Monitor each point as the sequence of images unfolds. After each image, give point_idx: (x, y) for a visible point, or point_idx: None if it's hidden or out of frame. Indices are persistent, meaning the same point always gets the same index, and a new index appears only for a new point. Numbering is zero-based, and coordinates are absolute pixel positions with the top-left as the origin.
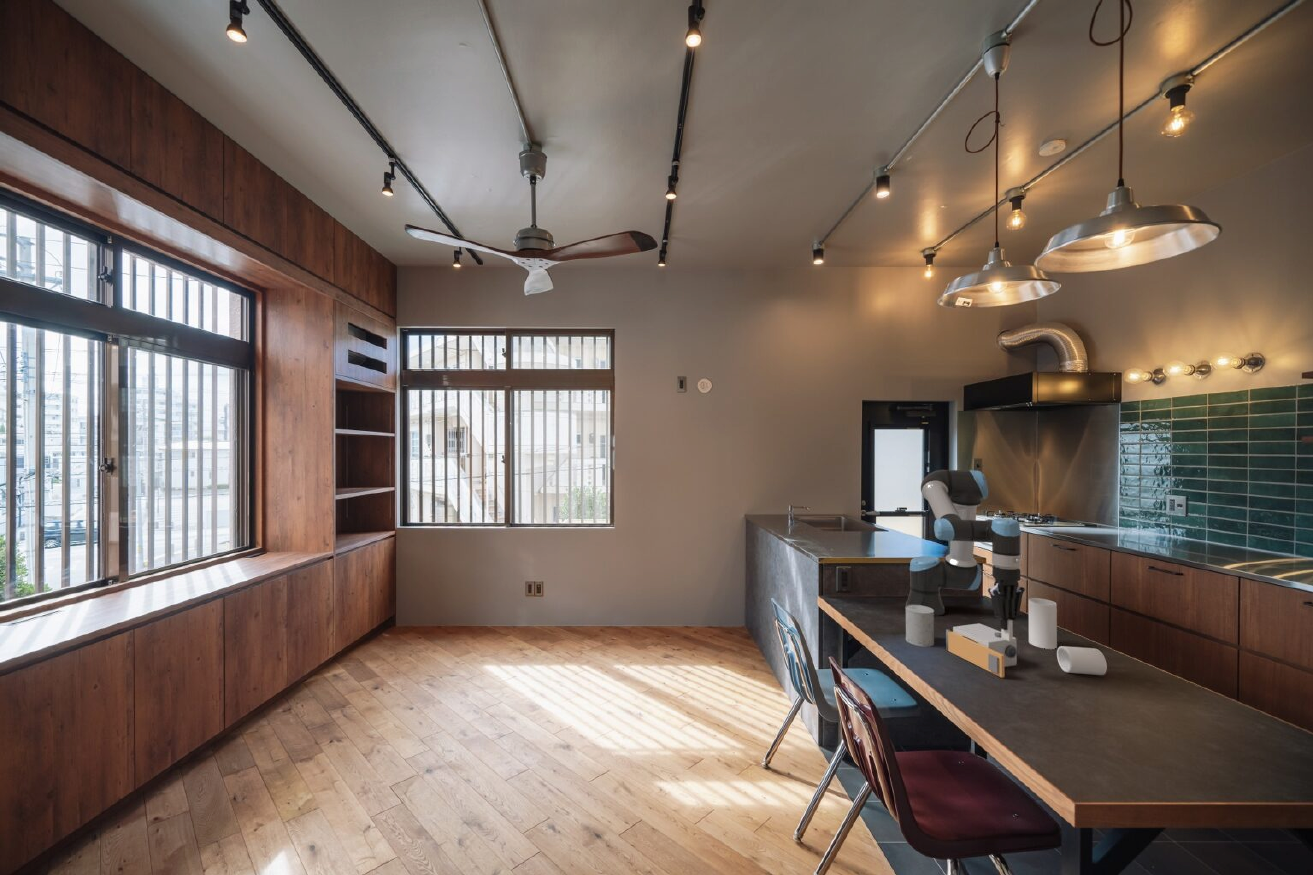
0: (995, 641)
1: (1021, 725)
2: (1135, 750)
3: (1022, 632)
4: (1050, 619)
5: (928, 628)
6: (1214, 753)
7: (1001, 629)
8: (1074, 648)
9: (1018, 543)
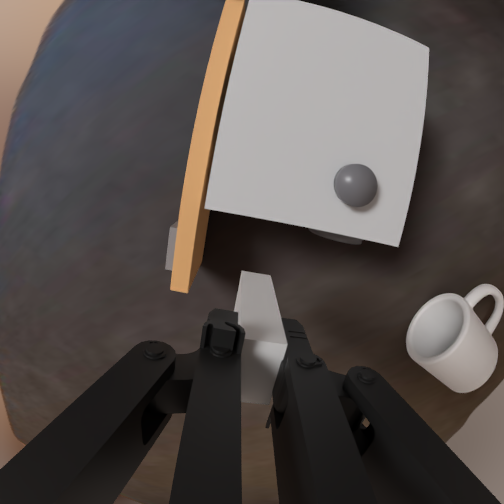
0: (256, 217)
1: (46, 379)
2: (159, 473)
3: None
4: None
5: None
6: (257, 501)
7: (240, 293)
8: (463, 361)
9: None
